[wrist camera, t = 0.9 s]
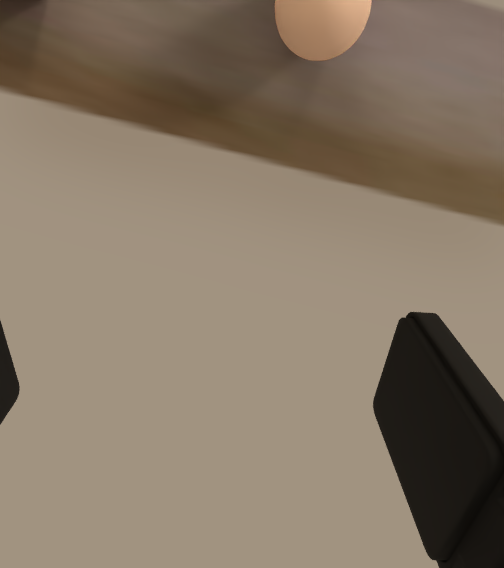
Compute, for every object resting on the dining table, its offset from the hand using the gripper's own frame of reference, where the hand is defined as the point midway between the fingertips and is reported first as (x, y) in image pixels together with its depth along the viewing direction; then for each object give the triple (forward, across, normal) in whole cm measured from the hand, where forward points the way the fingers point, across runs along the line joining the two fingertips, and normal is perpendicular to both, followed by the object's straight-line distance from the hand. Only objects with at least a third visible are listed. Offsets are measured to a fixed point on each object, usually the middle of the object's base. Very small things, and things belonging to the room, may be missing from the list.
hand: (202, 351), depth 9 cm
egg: (+26, -5, -9) cm, 28 cm away
